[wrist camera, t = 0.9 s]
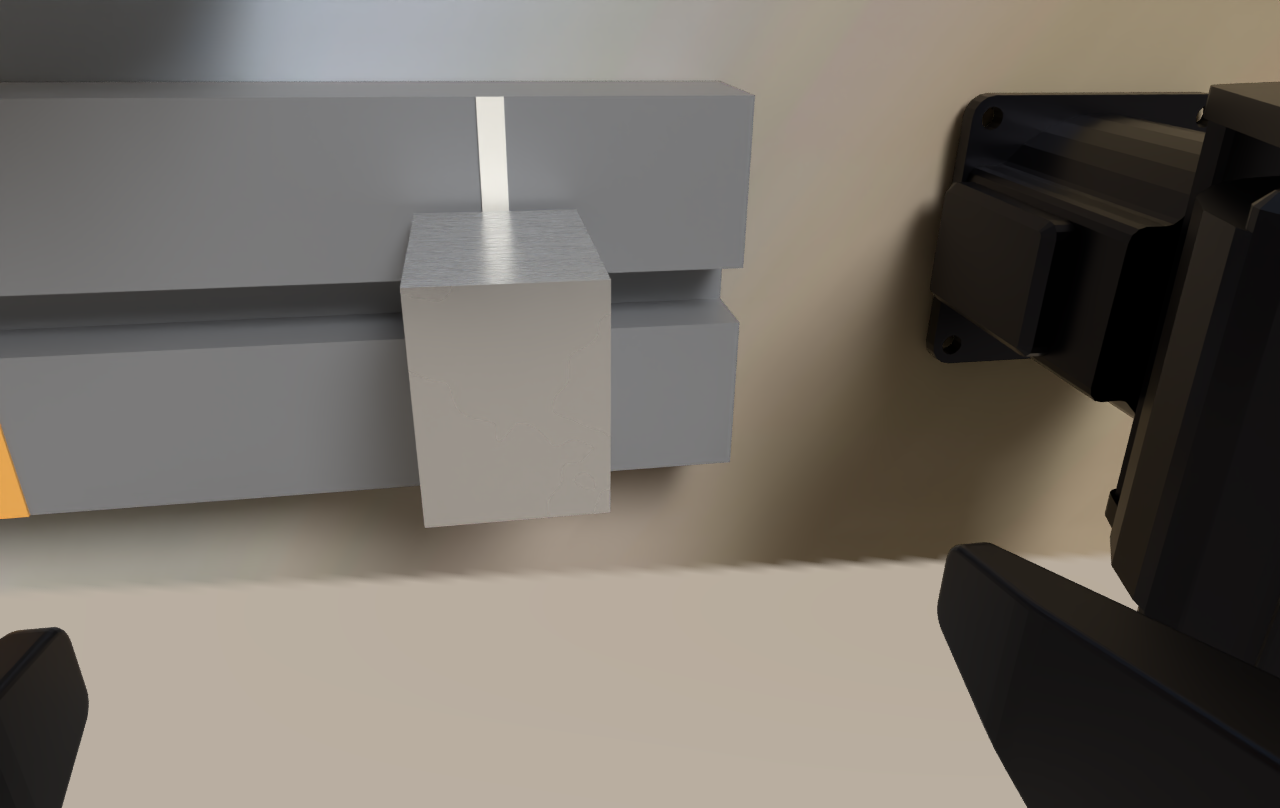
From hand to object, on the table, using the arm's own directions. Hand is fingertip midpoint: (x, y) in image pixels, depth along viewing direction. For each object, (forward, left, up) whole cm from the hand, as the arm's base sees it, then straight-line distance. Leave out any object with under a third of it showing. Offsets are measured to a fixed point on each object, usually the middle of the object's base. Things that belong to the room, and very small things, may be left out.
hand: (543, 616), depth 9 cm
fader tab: (0, 0, -11) cm, 11 cm away
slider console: (+5, 0, -12) cm, 13 cm away
